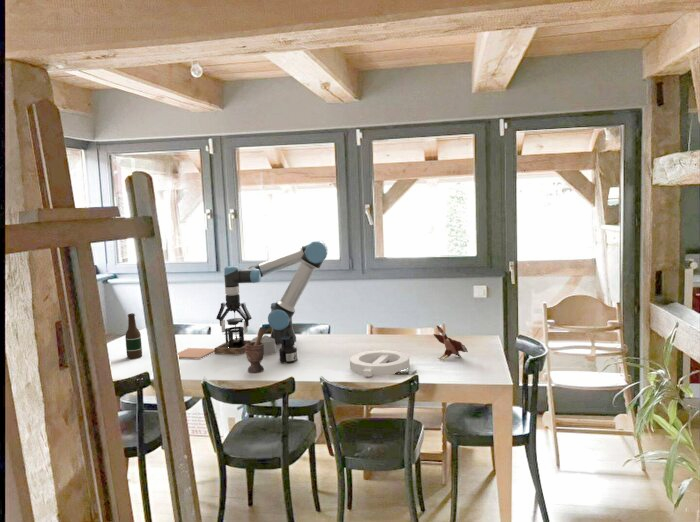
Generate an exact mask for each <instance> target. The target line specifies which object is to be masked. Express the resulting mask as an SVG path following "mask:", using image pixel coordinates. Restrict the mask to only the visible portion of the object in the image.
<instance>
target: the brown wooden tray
mask: <svg viewBox="0 0 700 522" xmlns="http://www.w3.org/2000/svg"><path fill="white" fill-rule="evenodd" d="M251 340H252V339H251ZM251 340H250V339H248V340H247V339H244V343H245V344H247V343H250V341H251ZM233 342H239V341H233ZM228 343H229V340H228ZM228 347H229V346H228V344H226V342H224V343H222V344H221V345H218V346H216V347H215V348H214V349H215V352H214V354H215V353H224V354H223V355H243V354H246V348H245V346H243V347H241V348H228Z"/></svg>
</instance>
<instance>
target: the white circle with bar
mask: <svg viewBox="0 0 700 522" xmlns="http://www.w3.org/2000/svg"><path fill="white" fill-rule="evenodd" d="M407 368H409V369H410V355H408V354H407V353H405V352H401V351H397V350H390V349H389V350H388V349H387V350H385V349H384V350H383V349H382V350H379V349H378V350H377V349H376V350H367V351H362V352H359V353H355V354H353V355H351V356H350V357H349V369H350V371H351V372H352V373H355V374H358V375H362V377H368V378H370V377H383V376H391V375H396V374H395V373H396V372H398V371H401V370H404V369H407Z"/></svg>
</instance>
